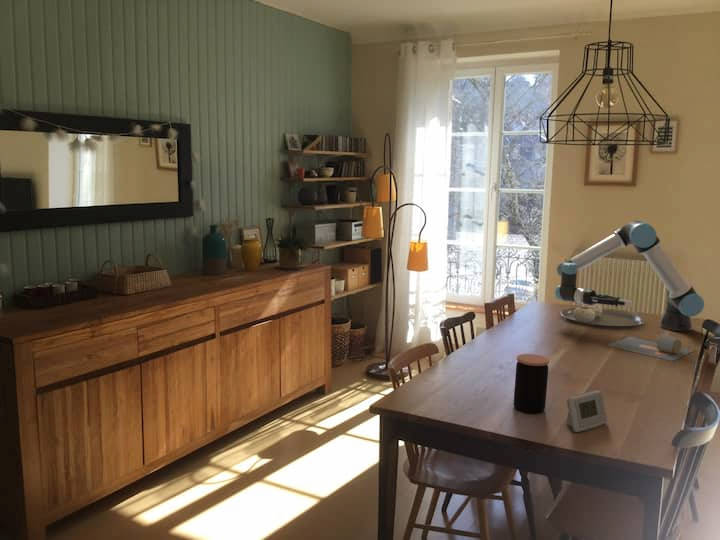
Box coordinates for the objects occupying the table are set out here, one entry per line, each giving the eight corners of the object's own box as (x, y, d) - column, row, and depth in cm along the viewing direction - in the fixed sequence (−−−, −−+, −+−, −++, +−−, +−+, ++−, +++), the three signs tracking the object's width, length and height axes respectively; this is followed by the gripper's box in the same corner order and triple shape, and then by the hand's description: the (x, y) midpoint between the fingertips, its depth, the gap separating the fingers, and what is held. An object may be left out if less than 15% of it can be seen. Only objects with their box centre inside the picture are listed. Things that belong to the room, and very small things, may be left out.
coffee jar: (550, 408, 227) (554, 358, 224) (535, 417, 219) (540, 365, 216) (522, 400, 234) (526, 351, 231) (507, 408, 226) (511, 358, 223)
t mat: (629, 337, 324) (629, 336, 324) (693, 351, 303) (693, 351, 303) (606, 345, 308) (606, 345, 308) (672, 361, 286) (672, 360, 286)
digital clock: (574, 434, 206) (577, 402, 204) (555, 423, 215) (558, 392, 213) (614, 428, 212) (618, 396, 211) (595, 417, 221) (598, 387, 219)
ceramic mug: (673, 356, 293) (675, 339, 292) (655, 351, 300) (657, 334, 299) (684, 352, 300) (687, 336, 299) (667, 348, 306) (669, 332, 305)
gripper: (591, 302, 335) (637, 309, 318) (578, 305, 326) (625, 314, 309) (592, 287, 333) (638, 294, 316) (579, 291, 325) (626, 298, 308)
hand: (632, 304), depth 313 cm, fingers closed
